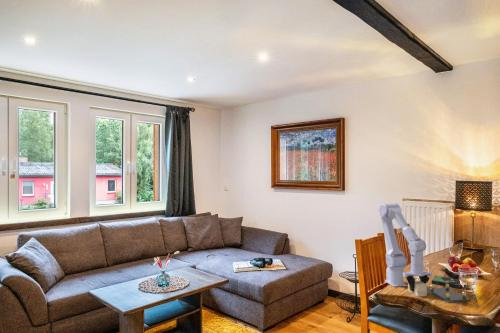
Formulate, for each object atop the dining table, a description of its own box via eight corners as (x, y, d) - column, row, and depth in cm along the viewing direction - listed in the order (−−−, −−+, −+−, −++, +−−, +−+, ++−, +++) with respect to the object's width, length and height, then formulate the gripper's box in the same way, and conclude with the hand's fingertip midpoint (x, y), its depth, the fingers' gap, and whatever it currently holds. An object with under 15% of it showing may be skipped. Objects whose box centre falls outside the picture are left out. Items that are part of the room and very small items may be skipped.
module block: (408, 290, 177) (408, 279, 177) (417, 290, 177) (416, 278, 177) (417, 296, 169) (417, 284, 169) (426, 296, 170) (426, 284, 170)
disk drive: (465, 286, 185) (435, 279, 195) (466, 280, 185) (435, 275, 195) (462, 291, 178) (431, 284, 187) (462, 285, 178) (431, 279, 187)
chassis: (426, 290, 177) (426, 283, 177) (447, 289, 179) (447, 282, 179) (447, 302, 161) (447, 295, 161) (470, 301, 163) (470, 293, 163)
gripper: (408, 266, 168) (408, 294, 168) (435, 265, 170) (435, 292, 170) (400, 262, 175) (400, 288, 175) (426, 261, 177) (426, 287, 177)
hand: (417, 290), depth 173 cm, fingers open, 5 cm apart
